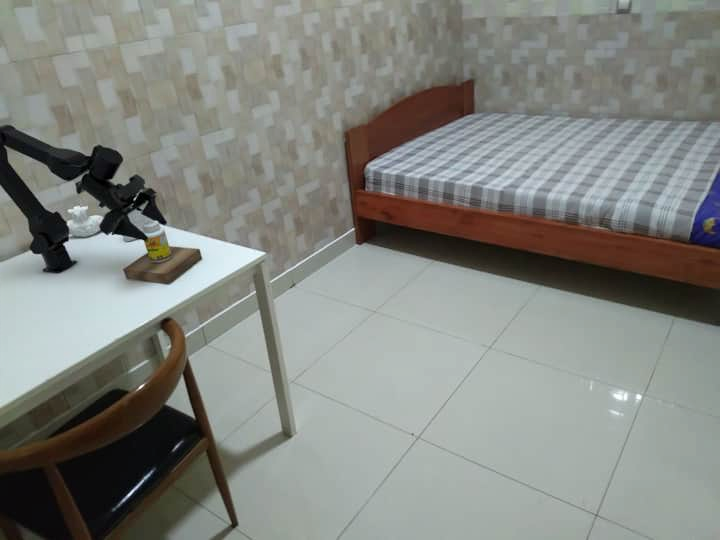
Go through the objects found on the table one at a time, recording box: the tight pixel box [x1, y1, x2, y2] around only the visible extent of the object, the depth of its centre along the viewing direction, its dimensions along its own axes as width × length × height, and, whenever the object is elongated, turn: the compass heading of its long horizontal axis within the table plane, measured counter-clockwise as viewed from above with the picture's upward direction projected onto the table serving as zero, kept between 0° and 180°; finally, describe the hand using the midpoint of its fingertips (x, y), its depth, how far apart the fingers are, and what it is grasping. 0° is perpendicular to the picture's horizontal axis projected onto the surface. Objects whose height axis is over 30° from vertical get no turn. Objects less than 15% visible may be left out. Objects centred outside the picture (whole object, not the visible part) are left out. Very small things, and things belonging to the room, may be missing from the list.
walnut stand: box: [122, 245, 203, 285], centre depth 137 cm, size 14×14×3 cm
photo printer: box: [122, 198, 154, 242], centre depth 156 cm, size 10×4×12 cm, turn 123°
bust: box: [66, 205, 104, 238], centre depth 162 cm, size 12×8×11 cm
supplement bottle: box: [142, 221, 171, 263], centre depth 134 cm, size 6×6×10 cm
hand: (156, 231), depth 132 cm, fingers open, 9 cm apart
